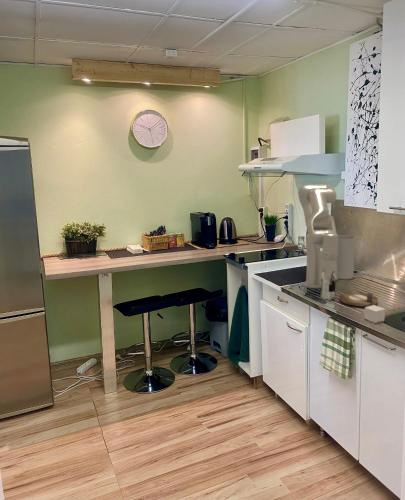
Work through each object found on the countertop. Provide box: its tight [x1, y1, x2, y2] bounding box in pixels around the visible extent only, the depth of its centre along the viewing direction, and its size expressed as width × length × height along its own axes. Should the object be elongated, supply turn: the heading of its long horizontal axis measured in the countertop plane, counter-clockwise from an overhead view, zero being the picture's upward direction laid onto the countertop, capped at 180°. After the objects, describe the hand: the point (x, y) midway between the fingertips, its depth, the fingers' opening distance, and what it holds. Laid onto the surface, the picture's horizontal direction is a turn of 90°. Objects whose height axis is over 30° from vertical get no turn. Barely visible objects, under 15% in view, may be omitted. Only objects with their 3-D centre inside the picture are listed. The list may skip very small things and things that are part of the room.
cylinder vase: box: [336, 235, 356, 281], centre depth 254 cm, size 12×12×25 cm
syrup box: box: [319, 272, 337, 301], centre depth 218 cm, size 6×6×14 cm
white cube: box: [363, 304, 386, 322], centre depth 188 cm, size 6×6×6 cm
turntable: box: [339, 291, 378, 307], centre depth 211 cm, size 18×18×6 cm
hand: (328, 288), depth 218 cm, fingers closed on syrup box, 7 cm apart
